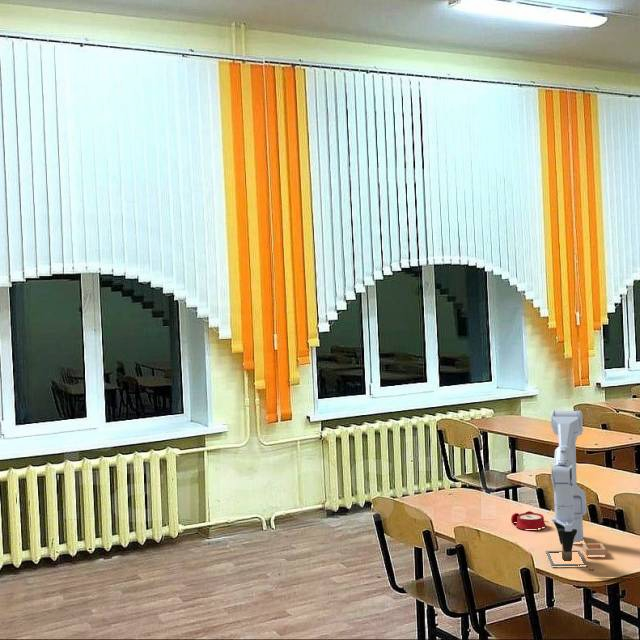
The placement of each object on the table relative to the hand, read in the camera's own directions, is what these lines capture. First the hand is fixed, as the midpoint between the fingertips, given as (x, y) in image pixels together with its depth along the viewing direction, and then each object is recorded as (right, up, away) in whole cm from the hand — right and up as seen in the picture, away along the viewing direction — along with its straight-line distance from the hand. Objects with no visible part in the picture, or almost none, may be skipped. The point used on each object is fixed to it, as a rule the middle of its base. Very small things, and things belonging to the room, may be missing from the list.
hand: (565, 547), depth 264 cm
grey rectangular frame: (0, -5, +1) cm, 5 cm away
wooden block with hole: (+10, -4, +5) cm, 12 cm away
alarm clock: (-1, -4, +41) cm, 41 cm away
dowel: (0, -4, 0) cm, 4 cm away
